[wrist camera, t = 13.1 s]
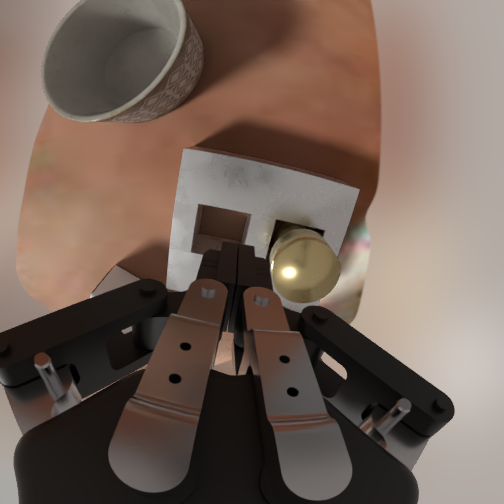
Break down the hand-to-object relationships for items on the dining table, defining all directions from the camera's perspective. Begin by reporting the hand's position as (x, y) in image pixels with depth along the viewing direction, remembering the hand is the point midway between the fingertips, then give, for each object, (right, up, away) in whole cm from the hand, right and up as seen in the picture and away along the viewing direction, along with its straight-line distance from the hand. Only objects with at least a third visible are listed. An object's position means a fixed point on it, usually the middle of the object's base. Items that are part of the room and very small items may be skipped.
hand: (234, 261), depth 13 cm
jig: (+1, +3, +17) cm, 17 cm away
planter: (-10, +20, +9) cm, 24 cm away
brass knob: (+5, +3, +17) cm, 18 cm away
